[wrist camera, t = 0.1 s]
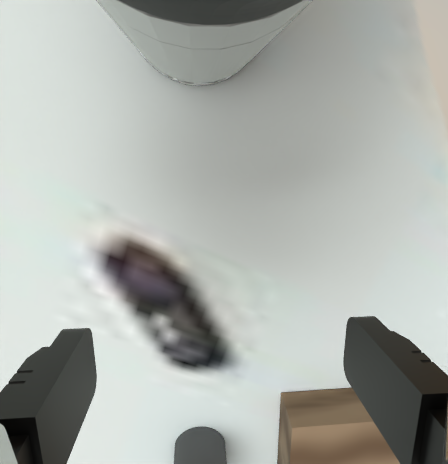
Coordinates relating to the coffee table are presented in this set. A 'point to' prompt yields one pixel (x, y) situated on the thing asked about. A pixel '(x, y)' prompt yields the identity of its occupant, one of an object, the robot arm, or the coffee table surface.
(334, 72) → the coffee table surface
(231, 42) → the robot arm
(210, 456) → the banded grey cylinder
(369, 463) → the wooden gallows stand
